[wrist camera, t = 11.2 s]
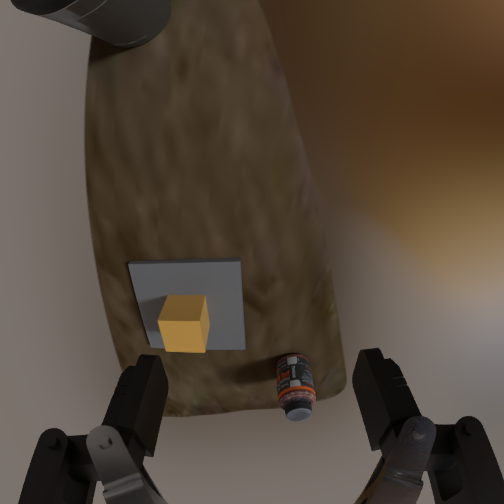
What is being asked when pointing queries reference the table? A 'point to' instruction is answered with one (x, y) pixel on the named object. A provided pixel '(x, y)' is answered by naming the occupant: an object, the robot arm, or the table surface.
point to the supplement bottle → (295, 387)
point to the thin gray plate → (193, 283)
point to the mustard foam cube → (184, 323)
